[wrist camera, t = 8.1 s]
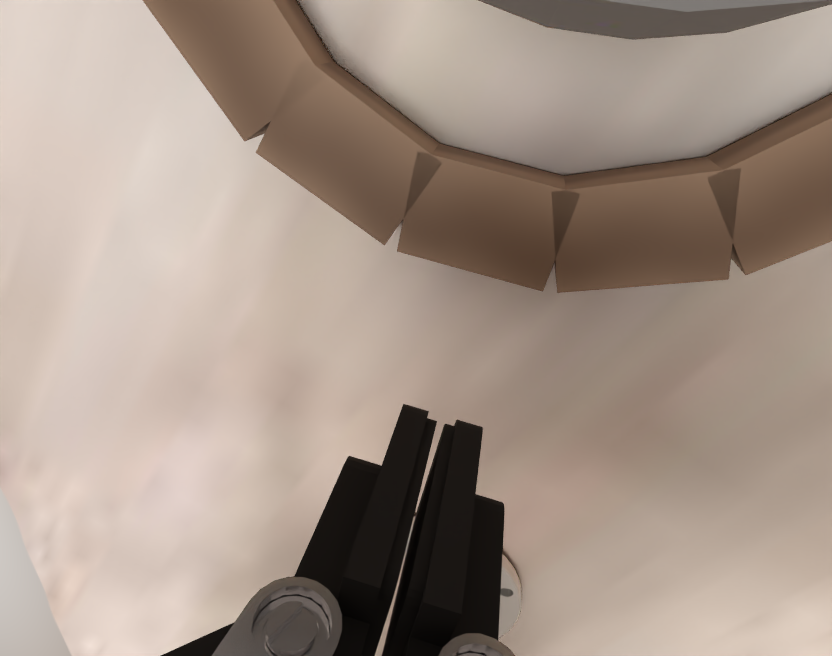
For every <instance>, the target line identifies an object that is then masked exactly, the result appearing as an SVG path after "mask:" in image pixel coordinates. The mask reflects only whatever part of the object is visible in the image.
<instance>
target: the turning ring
mask: <svg viewBox="0 0 832 656" xmlns="http://www.w3.org/2000/svg"><path fill="white" fill-rule="evenodd" d="M143 1H144V3H145V4H146V6H147V7H148V8H149V10H150V11H151V12H152V14H153V15H154V17H155V18H156V19H157V21H158V22H159V24H160V25H161V26H162V28H163V29H164V30H165V32H166V33H167V35H168V36H169V37H170V39H171V40H172V42H173V43H174V44H175V46H176V47H177V48H178V50H179V51H180V53H181V54H182V55H183V57H184V58H185V59H186V61H187V62H188V64H189V65H190V66H191V68H192V69H193V71H194V72H195V73H196V75H197V76H198V77H199V79H200V80H201V82H202V83H203V84H204V86H205V87H206V89H207V90H208V91H209V93H210V94H211V95H212V97H213V98H214V100H215V101H216V102H217V104H218V105H219V107H220V108H221V109H222V111H223V112H224V113H225V115H226V116H227V118H228V119H229V120H230V122H231V123H232V124H233V126H234V127H235V129H236V130H237V131H238V133H239V134H240V136H241V137H242V138H243V140H244V141H247V140H249V139H252V138H254V137H257V136H259V135H262V134H264V133H265V134H264V137H263V139H262V141H261V143H260V145H259V147H258V149H257V151H256V153H257V154H258V155H260V156H261V157H263V158H264V159H265V160H267V161H268V162H270V163H271V164H272V165H274V166H275V167H277V168H278V169H279V170H281V171H282V172H283V173H285V174H286V175H288V176H289V177H290V178H292V179H293V180H295V181H296V182H297V183H299V184H300V185H302V186H303V187H304V188H306V189H307V190H308V191H310V192H311V193H313V194H314V195H315V196H317V197H318V198H320V199H321V200H322V201H324V202H325V203H326V204H328V205H329V206H331V207H332V208H333V209H335V210H336V211H338V212H339V213H340V214H342V215H343V216H345V217H346V218H347V219H349V220H350V221H351V222H353V223H354V224H356V225H357V226H358V227H360V228H361V229H363V230H364V231H365V232H367V233H368V234H369V235H371V236H372V237H374V238H375V239H376V240H378V241H379V242H381V243H382V244H383V245H385V244H386V242H387V241H388V240H389V238H390V237H391V235H392V234H393V232H394V231H395V230H396V228H397V227H398V225H399V224H400V223H401V221H402V220H403V224H402V229H401V234H400V239H399V244H398V249H397V251H398V252H401V253H405V254H409V255H412V256H416V257H420V258H423V259H427V260H431V261H434V262H438V263H441V264H445V265H449V266H452V267H456V268H460V269H463V270H467V271H471V272H474V273H478V274H481V275H485V276H489V277H492V278H496V279H500V280H503V281H507V282H511V283H514V284H518V285H522V286H525V287H529V288H532V289H536V290H540V291H543V290H544V287H545V285H546V282H547V280H548V277H549V275H550V272H551V269H552V267H553V264H554V262H555V273H556V284H557V293H561V292H573V291H586V290H599V289H611V288H624V287H637V286H650V285H662V284H675V283H688V282H700V281H713V280H726V279H729V271H730V262H731V258H732V260H733V261H734V262H735V263H736V264H737V266H738V267H739V268H740V269H741V270H742V271H743V273H744V274H745V275H748V274H750V273H753V272H755V271H758V270H760V269H763V268H765V267H768V266H770V265H773V264H775V263H778V262H780V261H783V260H785V259H788V258H790V257H793V256H795V255H798V254H800V253H803V252H805V251H808V250H810V249H813V248H815V247H818V246H820V245H823V244H825V243H828V242H830V241H832V94H831V95H829V96H827V97H825V98H823V99H821V100H819V101H817V102H815V103H813V104H811V105H809V106H807V107H805V108H803V109H801V110H799V111H797V112H795V113H793V114H791V115H789V116H787V117H785V118H783V119H781V120H779V121H777V122H775V123H773V124H771V125H769V126H767V127H765V128H763V129H761V130H759V131H757V132H755V133H753V134H751V135H749V136H747V137H745V138H743V139H741V140H739V141H737V142H735V143H733V144H731V145H729V146H727V147H725V148H723V149H721V150H719V151H717V152H715V153H713V154H711V155H709V156H707V157H702V158H694V159H687V160H679V161H672V162H664V163H657V164H649V165H642V166H634V167H627V168H620V169H612V170H605V171H597V172H590V173H582V174H575V175H567V176H562V175H558V174H554V173H550V172H546V171H543V170H539V169H535V168H531V167H527V166H523V165H520V164H516V163H512V162H508V161H504V160H501V159H497V158H493V157H489V156H485V155H481V154H478V153H474V152H470V151H466V150H462V149H458V148H455V147H451V146H447V145H443V144H439V143H438V142H437V141H436V140H434V139H433V138H432V137H430V136H429V135H428V134H426V133H425V132H424V131H423V130H421V129H420V128H419V127H417V126H416V125H415V124H414V123H412V122H411V121H410V120H408V119H407V118H406V117H404V116H403V115H402V114H401V113H399V112H398V111H397V110H395V109H394V108H393V107H392V106H390V105H389V104H388V103H386V102H385V101H384V100H382V99H381V98H380V97H379V96H377V95H376V94H375V93H373V92H372V91H371V90H369V89H368V88H367V87H366V86H364V85H363V84H362V83H360V82H359V81H358V80H357V79H355V78H354V77H353V76H351V75H350V74H349V73H347V72H346V71H345V70H344V69H342V68H341V67H340V66H338V65H337V64H336V63H335V62H333V60H332V58H331V57H330V55H329V54H328V52H327V50H326V49H325V47H324V46H323V44H322V42H321V41H320V39H319V38H318V36H317V34H316V33H315V31H314V30H313V28H312V26H311V25H310V23H309V21H308V20H307V18H306V17H305V15H304V13H303V12H302V10H301V9H300V7H299V5H298V4H297V2H296V1H295V0H143ZM403 218H404V219H403Z"/></svg>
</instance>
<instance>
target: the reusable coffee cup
mask: <svg viewBox="0 0 832 656" xmlns="http://www.w3.org/2000/svg"><path fill="white" fill-rule="evenodd" d="M479 1H481V2H484V3H486V4H489V5H492V6H494V7H497V8H499V9H502V10H504V11H507V12H509V13H512V14H514V15H517V16H520V17H522V18H525V19H527V20H530V21H532V22H535V23H537V24H540V25H543V26H545V27H549V28H556V29H563V30H570V31H577V32H584V33H591V34H598V35H605V36H612V37H619V38H625V39H646V38H660V37H673V36H687V35H700V34H714V33H727V32H731V31H734V30H738V29H742V28H745V27H749V26H753V25H756V24H760V23H764V22H767V21H771V20H775V19H779V18H782V17H786V16H790V15H793V14H797V13H801V12H804V11H808V10H812V9H815V8H819V7H823V6H827V5H830V4H832V0H479Z"/></svg>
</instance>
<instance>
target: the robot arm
mask: <svg viewBox="0 0 832 656" xmlns="http://www.w3.org/2000/svg"><path fill="white" fill-rule="evenodd" d="M428 412H429V411H426V410H422V409H419V408H416V407H412V406H409V405H405V404H403V407H402V410H401V412H400V415H399V418H398V421H397V424H396V427H395V429H394V432H393V435H392V438H391V441H390V444H389V446H388V449H387V452H386V455H385V458H384V461H383V464H382V466H381V465H377V464H374V463H371V462H368V461H364V460H361V459H358V458H354V457H351V456H349V457H348V458H347V460H346V462H345V464H344V466H343V468H342V470H341V473H340V475H339V477H338V479H337V482H336V484H335V486H334V488H333V491H332V493H331V495H330V497H329V500H328V502H327V504H326V506H325V509H324V511H323V513H322V515H321V518H320V520H319V522H318V524H317V527H316V529H315V531H314V533H313V536H312V538H311V540H310V542H309V545H308V547H307V549H306V551H305V554H304V556H303V558H302V560H301V563H300V565H299V567H298V569H297V572H296V574H295V576H294V577H286V578H283V579H279V580H276V581H273V582H271V583H270V584H268V585H267V586H265V587H263V588H262V589H260V590H259V591H258V592H257V594H256V595H255V596H254V597H253V598H252V599H251V600H250V601H249V603H248V604H247V605H246V607H245V608H244V610H243V611H242V613H241V614H240V615H239V617H238V618H237V620H236V621H235V622H234V623H232V624H230V625H228V626H225V627H223V628H221V629H219V630H217V631H214V632H212V633H210V634H208V635H206V636H203V637H201V638H199V639H197V640H194V641H192V642H190V643H188V644H186V645H183V646H181V647H179V648H177V649H175V650H172V651H170V652H168V653H166V654H164V655H161V656H515V655H514V654H513V653H512V651H511V650H510V649H509V648H508V647H507V646H505V645H504V644H502V643H501V642H499V641H498V638H500V637H501V636H503V635H504V634H505V633H507V632H508V631H509V630H510V629H511V628H512V627H513V625H514V624H515V623H516V622H517V619H518V617H519V614H520V612H521V596H522V593H521V584H520V580H519V578H518V575H517V573H516V571H515V569H514V567H513V566H512V565H511V563H510V562H509V561H508V559H507V558H506V557H505V556H504V555H503V554H502V552H503V531H504V504H503V503H502V502H499V501H496V500H493V499H489V498H486V497H483V496H479V495H476V494H475V492H476V484H477V475H478V467H479V458H480V449H481V441H482V432H483V428H482V427H480V426H476V425H473V424H470V423H466V422H463V421H460V420H456V423H455V425H454V426H451V425H448V424H445V425H444V427H443V431H442V434H441V437H440V440H439V443H438V446H437V450H436V453H435V456H434V459H433V462H432V465H431V469H430V472H429V475H428V478H427V481H426V484H425V488H424V491H423V494H422V497H421V500H420V503H419V507H418V510H417V513H416V516H414V513H415V509H416V505H417V501H418V497H419V493H420V489H421V484H422V480H423V476H424V472H425V468H426V464H427V460H428V456H429V452H430V448H431V443H432V439H433V435H434V431H435V427H436V423H437V421H434V420H431V419H428V418H427V416H428Z"/></svg>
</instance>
